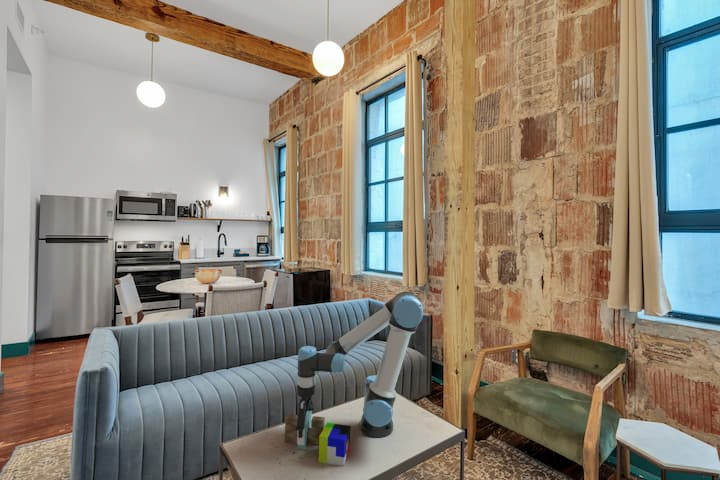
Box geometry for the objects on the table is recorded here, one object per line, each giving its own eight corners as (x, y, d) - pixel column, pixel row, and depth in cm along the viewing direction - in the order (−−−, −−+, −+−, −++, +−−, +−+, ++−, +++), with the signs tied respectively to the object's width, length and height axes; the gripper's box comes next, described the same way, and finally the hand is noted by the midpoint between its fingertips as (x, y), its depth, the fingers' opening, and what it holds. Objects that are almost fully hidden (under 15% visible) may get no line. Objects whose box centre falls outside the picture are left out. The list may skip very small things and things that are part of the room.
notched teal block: (303, 433, 152) (304, 410, 152) (310, 433, 152) (311, 411, 152) (297, 448, 141) (298, 424, 141) (304, 449, 141) (305, 424, 141)
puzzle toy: (343, 466, 132) (344, 440, 131) (318, 461, 134) (319, 436, 133) (349, 450, 141) (350, 425, 141) (326, 446, 143) (327, 422, 143)
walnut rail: (323, 440, 147) (324, 417, 147) (322, 444, 144) (323, 420, 144) (286, 437, 148) (287, 414, 148) (284, 441, 145) (285, 418, 145)
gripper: (304, 372, 159) (302, 418, 159) (289, 397, 134) (287, 452, 134) (320, 373, 158) (318, 419, 159) (308, 398, 133) (306, 453, 134)
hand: (304, 434), depth 146 cm, fingers open, 13 cm apart
